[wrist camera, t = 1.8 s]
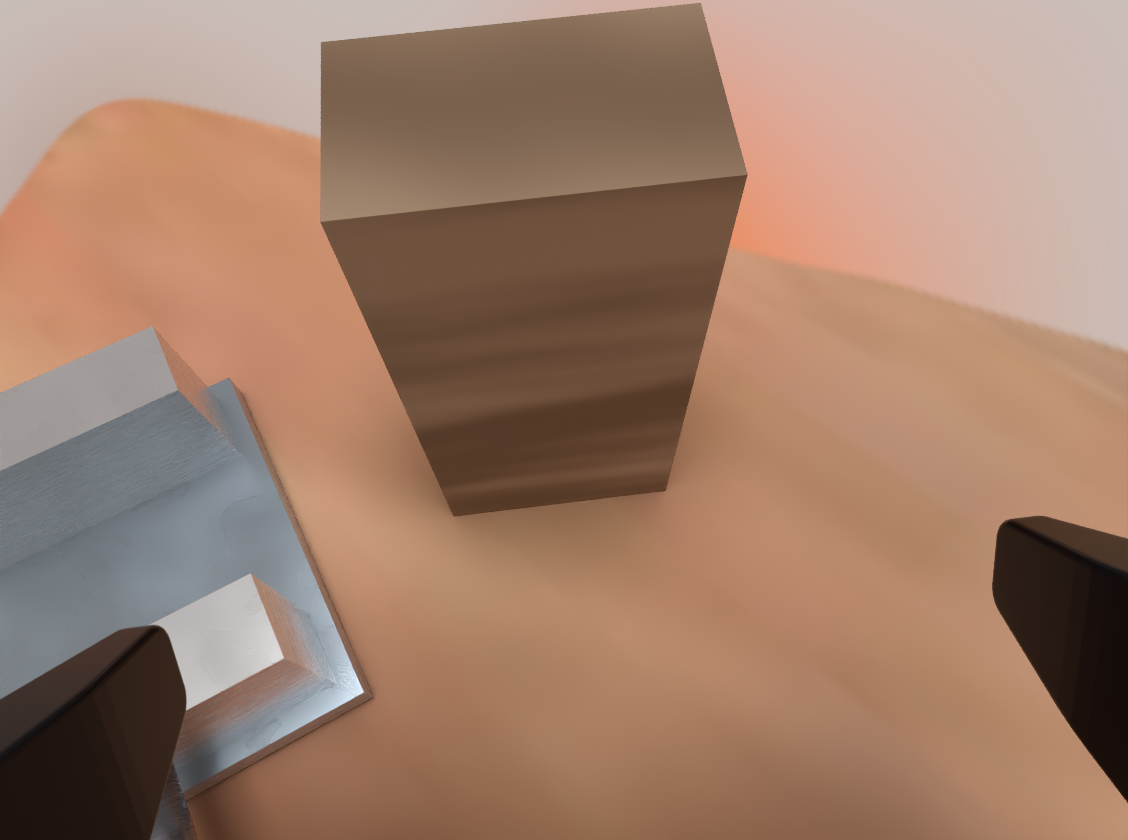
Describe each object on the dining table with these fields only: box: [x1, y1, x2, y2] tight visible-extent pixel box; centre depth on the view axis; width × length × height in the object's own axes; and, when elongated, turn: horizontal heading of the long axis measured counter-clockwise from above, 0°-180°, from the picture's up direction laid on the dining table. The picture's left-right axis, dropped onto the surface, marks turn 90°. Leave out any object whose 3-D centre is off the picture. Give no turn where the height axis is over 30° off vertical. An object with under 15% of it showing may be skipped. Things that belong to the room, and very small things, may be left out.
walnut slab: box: [320, 3, 747, 516], centre depth 18 cm, size 4×6×13 cm, turn 97°
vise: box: [0, 326, 373, 840], centre depth 19 cm, size 14×9×5 cm, turn 29°
